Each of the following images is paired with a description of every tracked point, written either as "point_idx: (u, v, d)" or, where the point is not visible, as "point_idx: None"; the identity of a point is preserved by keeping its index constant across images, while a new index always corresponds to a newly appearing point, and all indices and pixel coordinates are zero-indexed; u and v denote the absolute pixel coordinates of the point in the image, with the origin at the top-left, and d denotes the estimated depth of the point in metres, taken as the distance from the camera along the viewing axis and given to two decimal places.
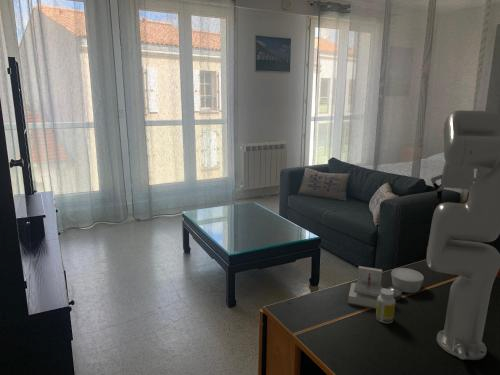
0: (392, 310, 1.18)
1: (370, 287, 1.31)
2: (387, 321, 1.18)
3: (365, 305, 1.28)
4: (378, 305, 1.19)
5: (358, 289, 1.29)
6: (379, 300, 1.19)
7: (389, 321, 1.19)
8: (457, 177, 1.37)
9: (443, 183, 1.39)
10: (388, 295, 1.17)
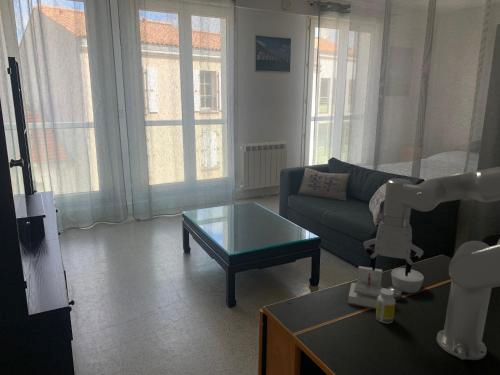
0: (392, 310, 1.18)
1: (370, 287, 1.31)
2: (387, 321, 1.18)
3: (365, 305, 1.28)
4: (378, 305, 1.19)
5: (358, 289, 1.29)
6: (379, 300, 1.19)
7: (389, 321, 1.19)
8: (392, 244, 1.13)
9: (376, 250, 1.15)
10: (388, 295, 1.17)
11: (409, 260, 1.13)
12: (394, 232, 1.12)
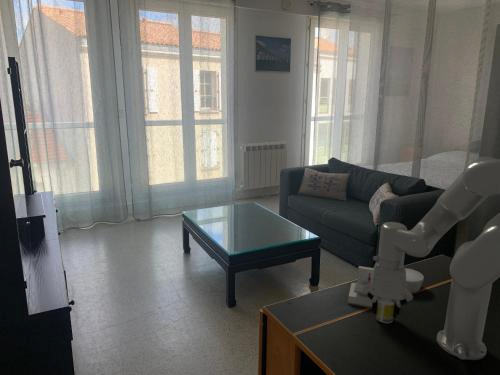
0: (392, 310, 1.18)
1: None
2: (387, 321, 1.18)
3: (365, 305, 1.28)
4: (378, 305, 1.19)
5: (358, 289, 1.29)
6: (379, 300, 1.19)
7: (389, 321, 1.19)
8: (387, 286, 1.16)
9: (371, 291, 1.18)
10: None
11: (398, 303, 1.17)
12: (389, 275, 1.15)
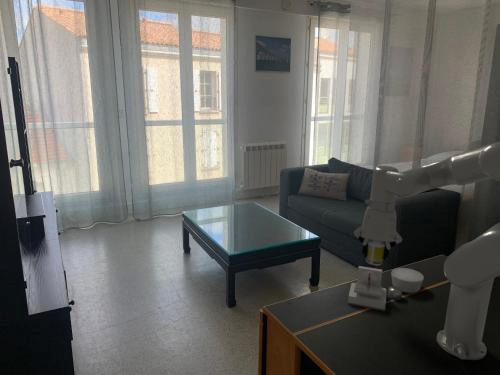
0: (382, 252, 1.21)
1: (370, 287, 1.31)
2: (377, 263, 1.22)
3: (365, 305, 1.28)
4: (368, 248, 1.23)
5: (358, 289, 1.29)
6: (370, 243, 1.22)
7: (379, 263, 1.22)
8: (378, 228, 1.19)
9: (363, 234, 1.21)
10: None
11: (388, 245, 1.20)
12: (380, 217, 1.18)
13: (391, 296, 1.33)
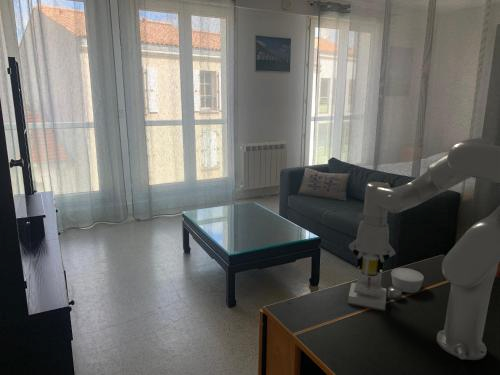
0: (376, 265, 1.26)
1: (370, 287, 1.31)
2: (371, 275, 1.26)
3: (365, 305, 1.28)
4: (363, 261, 1.27)
5: (358, 289, 1.29)
6: (364, 256, 1.27)
7: (373, 275, 1.26)
8: (371, 242, 1.23)
9: (357, 247, 1.26)
10: None
11: (382, 258, 1.25)
12: (373, 231, 1.22)
13: (391, 296, 1.33)
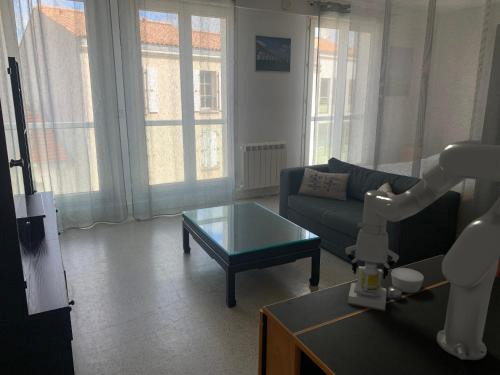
0: (375, 279, 1.27)
1: None
2: (371, 289, 1.27)
3: (365, 305, 1.28)
4: (362, 275, 1.28)
5: (358, 289, 1.29)
6: (363, 270, 1.28)
7: (373, 289, 1.27)
8: (370, 250, 1.24)
9: (356, 255, 1.26)
10: (372, 265, 1.26)
11: (386, 264, 1.25)
12: (372, 239, 1.23)
13: (391, 296, 1.33)
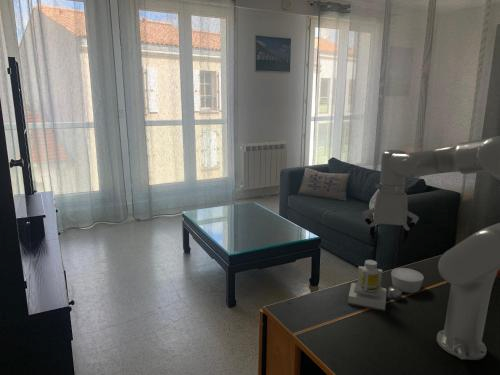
0: (375, 279, 1.27)
1: None
2: (371, 289, 1.27)
3: (365, 305, 1.28)
4: (362, 275, 1.28)
5: (358, 289, 1.29)
6: (363, 270, 1.28)
7: (373, 289, 1.27)
8: (389, 212, 1.20)
9: (375, 218, 1.22)
10: (371, 265, 1.26)
11: (406, 226, 1.21)
12: (391, 200, 1.19)
13: (391, 296, 1.33)
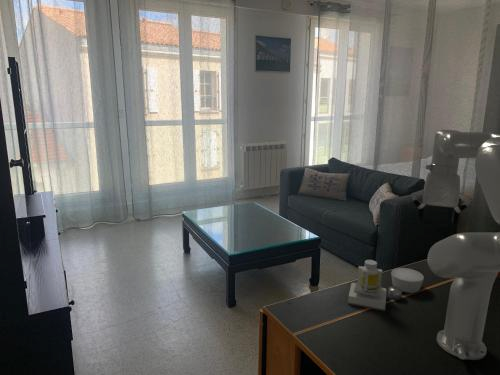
0: (375, 279, 1.27)
1: None
2: (371, 289, 1.27)
3: (365, 305, 1.28)
4: (362, 275, 1.28)
5: (358, 289, 1.29)
6: (363, 270, 1.28)
7: (372, 289, 1.27)
8: (441, 193, 1.17)
9: (424, 200, 1.19)
10: (371, 265, 1.26)
11: (457, 208, 1.18)
12: (443, 181, 1.16)
13: (391, 296, 1.33)
